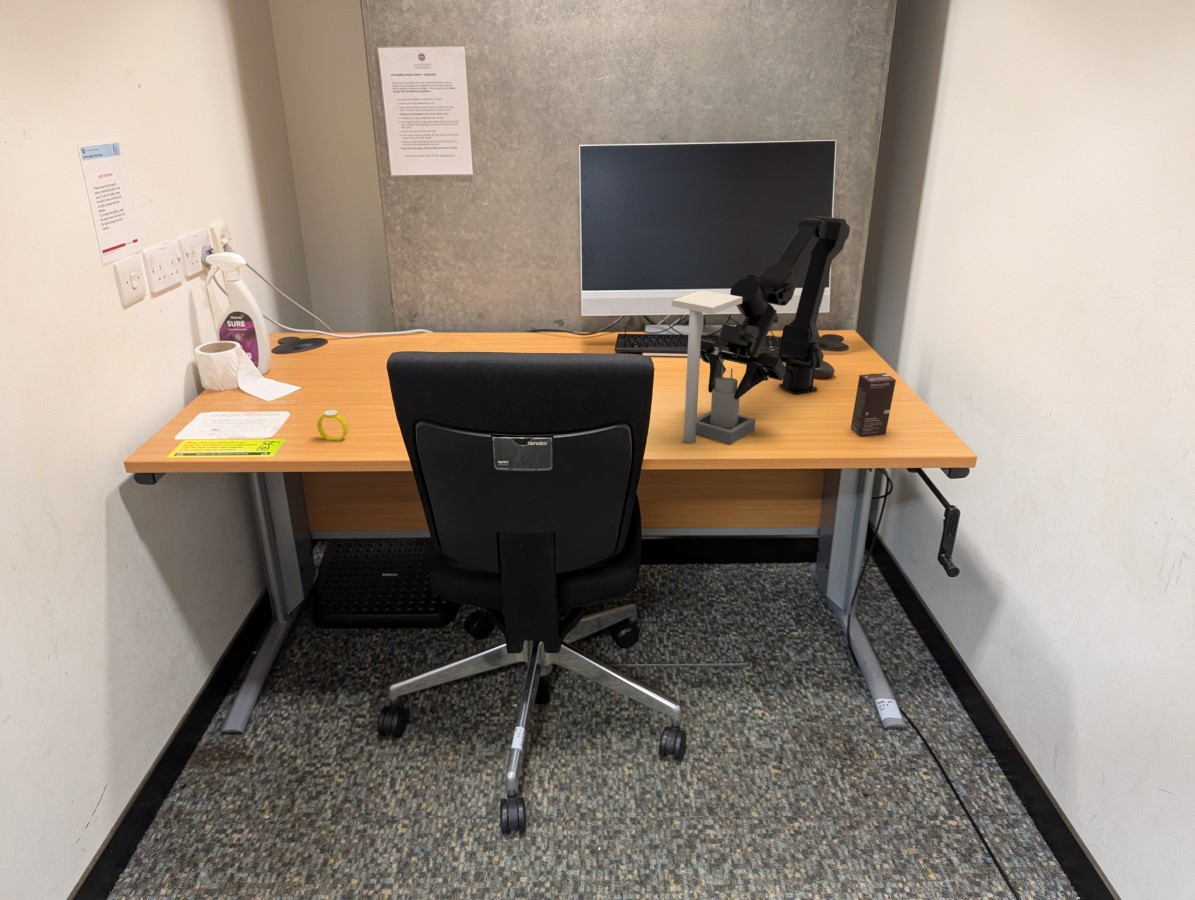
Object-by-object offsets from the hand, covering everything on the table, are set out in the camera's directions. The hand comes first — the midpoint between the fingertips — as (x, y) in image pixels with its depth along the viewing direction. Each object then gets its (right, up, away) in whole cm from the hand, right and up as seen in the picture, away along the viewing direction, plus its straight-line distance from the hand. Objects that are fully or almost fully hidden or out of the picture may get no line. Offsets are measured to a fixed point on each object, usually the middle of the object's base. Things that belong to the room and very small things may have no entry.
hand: (722, 395), depth 162 cm
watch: (-78, -9, +1) cm, 79 cm away
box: (+31, -7, +4) cm, 32 cm away
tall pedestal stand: (-2, -8, +3) cm, 8 cm away
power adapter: (+1, -6, +4) cm, 7 cm away
